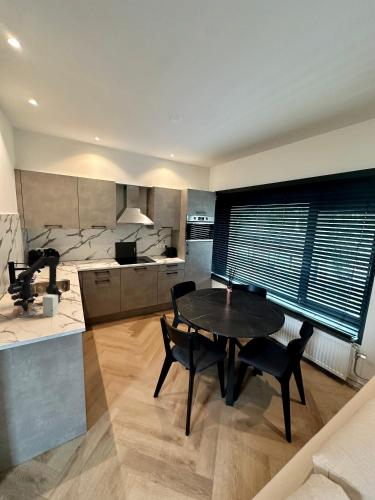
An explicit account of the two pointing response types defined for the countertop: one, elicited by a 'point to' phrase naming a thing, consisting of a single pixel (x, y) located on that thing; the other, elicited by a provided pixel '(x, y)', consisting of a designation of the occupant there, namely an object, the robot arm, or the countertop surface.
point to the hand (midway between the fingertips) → (27, 310)
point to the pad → (27, 314)
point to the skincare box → (50, 305)
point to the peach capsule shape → (16, 312)
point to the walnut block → (28, 308)
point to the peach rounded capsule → (21, 309)
